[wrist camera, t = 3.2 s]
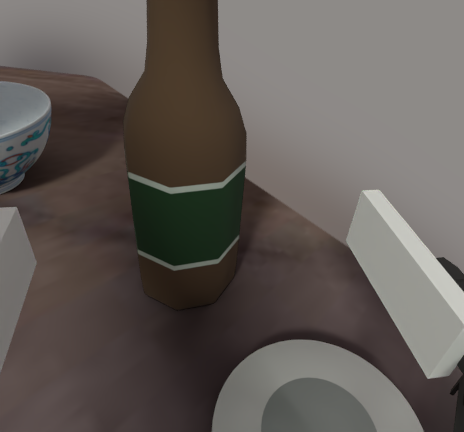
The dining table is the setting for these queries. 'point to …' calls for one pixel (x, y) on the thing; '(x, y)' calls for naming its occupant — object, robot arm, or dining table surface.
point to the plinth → (310, 393)
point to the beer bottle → (184, 158)
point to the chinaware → (21, 130)
